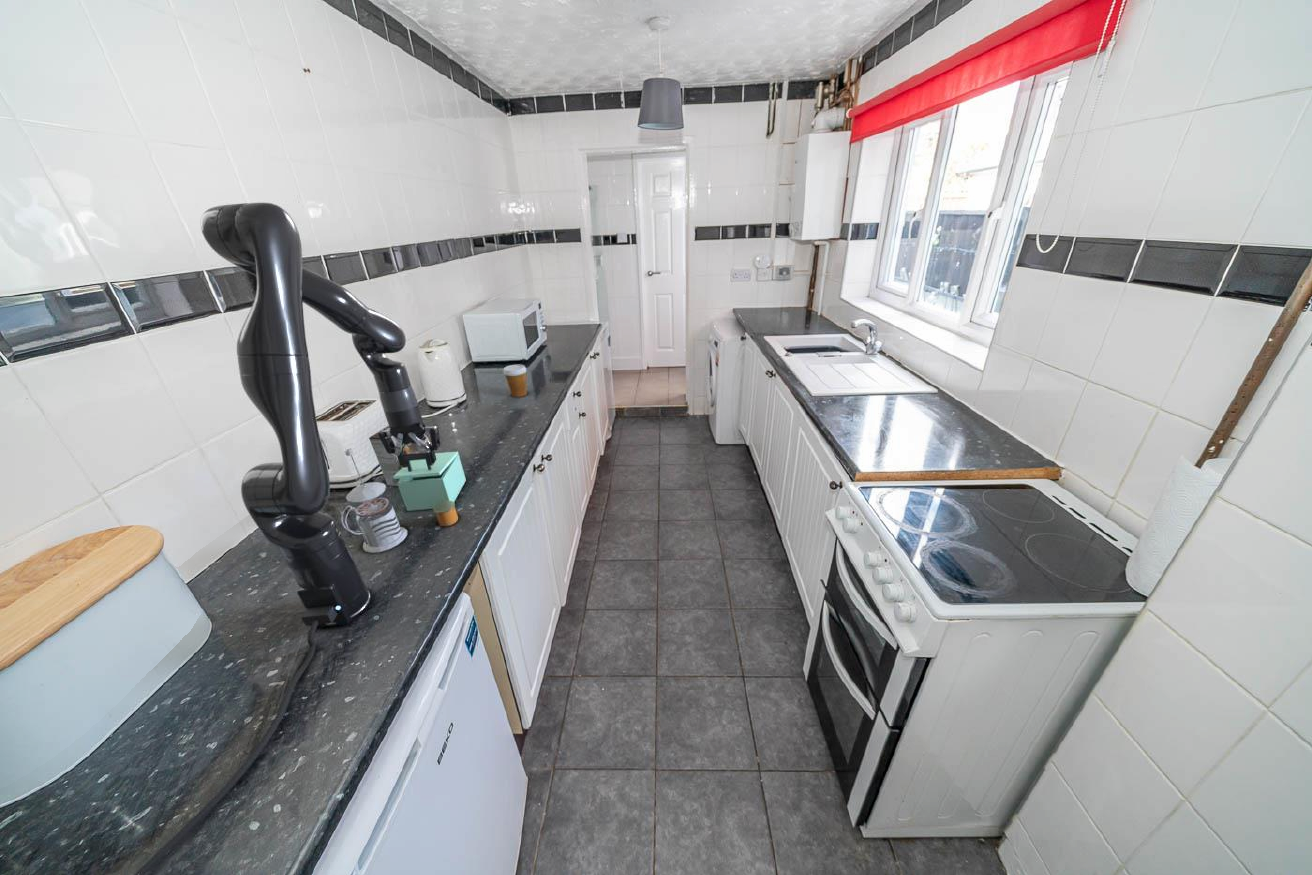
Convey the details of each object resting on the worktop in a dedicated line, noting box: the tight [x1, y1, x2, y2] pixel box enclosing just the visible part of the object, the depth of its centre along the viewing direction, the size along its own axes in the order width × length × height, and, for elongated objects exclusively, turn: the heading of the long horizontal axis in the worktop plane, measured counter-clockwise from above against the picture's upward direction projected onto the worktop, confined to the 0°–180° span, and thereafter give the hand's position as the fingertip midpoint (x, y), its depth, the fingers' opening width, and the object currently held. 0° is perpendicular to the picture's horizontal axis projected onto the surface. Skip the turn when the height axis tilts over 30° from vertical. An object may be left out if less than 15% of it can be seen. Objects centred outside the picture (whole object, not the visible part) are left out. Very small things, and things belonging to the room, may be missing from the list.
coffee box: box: [368, 425, 420, 487], centre depth 133 cm, size 9×6×16 cm
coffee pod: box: [433, 501, 459, 527], centre depth 115 cm, size 5×5×4 cm
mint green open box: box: [397, 453, 467, 512], centre depth 125 cm, size 14×12×9 cm
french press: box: [340, 448, 408, 554], centre depth 104 cm, size 10×12×25 cm
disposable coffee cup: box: [502, 364, 528, 398], centre depth 193 cm, size 10×10×12 cm
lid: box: [393, 451, 459, 479], centre depth 122 cm, size 14×12×6 cm
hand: (419, 464), depth 118 cm, fingers closed on lid, 6 cm apart
